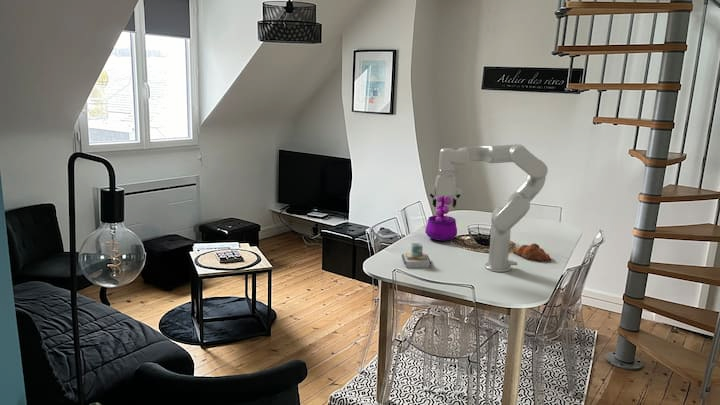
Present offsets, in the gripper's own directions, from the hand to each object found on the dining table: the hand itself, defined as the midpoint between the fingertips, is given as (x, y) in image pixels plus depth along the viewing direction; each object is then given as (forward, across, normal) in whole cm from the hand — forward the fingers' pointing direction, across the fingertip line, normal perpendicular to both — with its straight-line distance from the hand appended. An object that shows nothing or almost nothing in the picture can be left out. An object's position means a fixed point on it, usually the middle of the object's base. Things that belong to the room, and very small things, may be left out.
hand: (444, 206), depth 265 cm
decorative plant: (+31, -8, -43) cm, 53 cm away
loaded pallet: (+27, +13, 0) cm, 30 cm away
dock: (+30, +13, 0) cm, 33 cm away
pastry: (+31, -52, -11) cm, 61 cm away
